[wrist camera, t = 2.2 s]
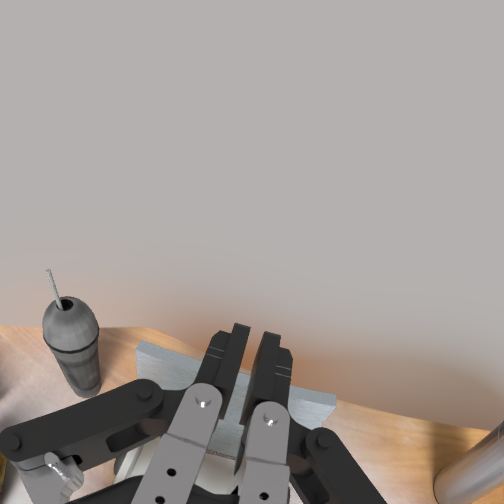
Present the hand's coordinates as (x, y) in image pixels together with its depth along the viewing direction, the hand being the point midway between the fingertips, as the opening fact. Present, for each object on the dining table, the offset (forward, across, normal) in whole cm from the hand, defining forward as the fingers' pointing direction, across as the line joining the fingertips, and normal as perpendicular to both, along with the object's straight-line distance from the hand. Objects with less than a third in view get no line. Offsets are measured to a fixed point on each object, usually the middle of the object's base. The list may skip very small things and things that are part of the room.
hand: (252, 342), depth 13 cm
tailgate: (+4, 0, +23) cm, 23 cm away
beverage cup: (+9, +20, +28) cm, 35 cm away
